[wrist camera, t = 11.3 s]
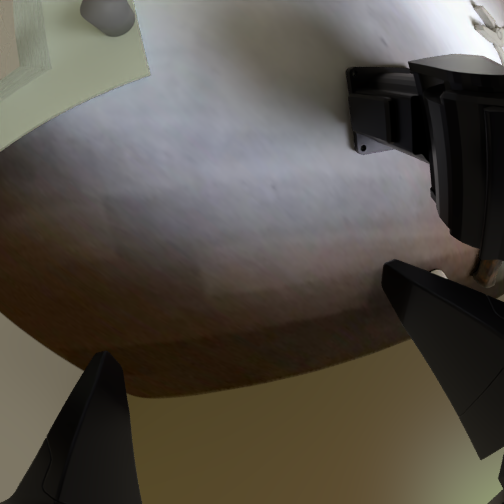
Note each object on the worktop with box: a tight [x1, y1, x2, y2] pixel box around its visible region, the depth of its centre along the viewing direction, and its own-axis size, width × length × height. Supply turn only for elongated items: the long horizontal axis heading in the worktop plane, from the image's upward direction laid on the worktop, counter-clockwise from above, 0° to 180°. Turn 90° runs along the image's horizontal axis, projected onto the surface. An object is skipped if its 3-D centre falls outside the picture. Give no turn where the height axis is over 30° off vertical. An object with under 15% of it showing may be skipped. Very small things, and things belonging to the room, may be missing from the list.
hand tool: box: [473, 260, 502, 288], centre depth 27 cm, size 19×4×5 cm, turn 5°
